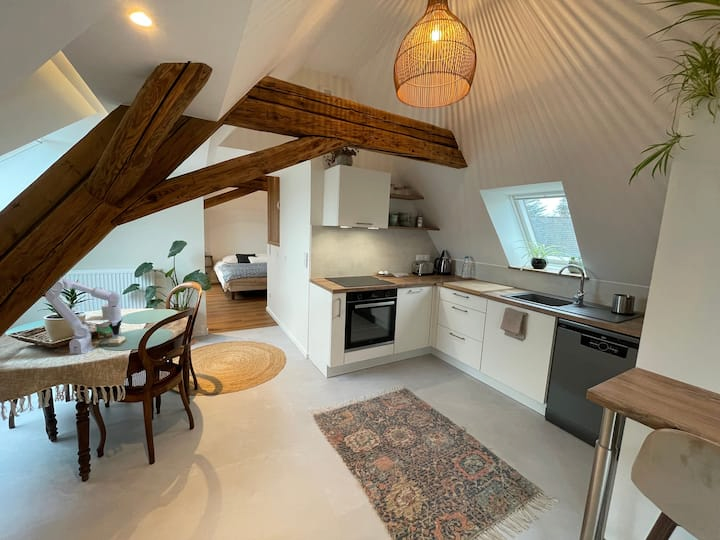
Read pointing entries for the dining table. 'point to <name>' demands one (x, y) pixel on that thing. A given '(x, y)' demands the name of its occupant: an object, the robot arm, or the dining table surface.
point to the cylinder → (118, 334)
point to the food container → (104, 330)
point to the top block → (117, 339)
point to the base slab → (117, 343)
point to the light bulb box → (105, 312)
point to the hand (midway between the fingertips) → (116, 333)
